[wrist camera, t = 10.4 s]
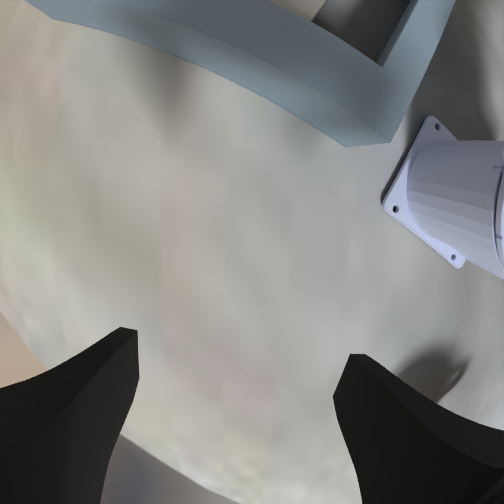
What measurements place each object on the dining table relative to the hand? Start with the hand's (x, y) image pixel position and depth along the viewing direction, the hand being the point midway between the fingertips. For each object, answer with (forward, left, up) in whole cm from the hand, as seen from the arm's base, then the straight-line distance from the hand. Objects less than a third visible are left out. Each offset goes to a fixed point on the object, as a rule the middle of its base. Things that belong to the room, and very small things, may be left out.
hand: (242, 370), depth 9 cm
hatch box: (+10, -19, -10) cm, 24 cm away
